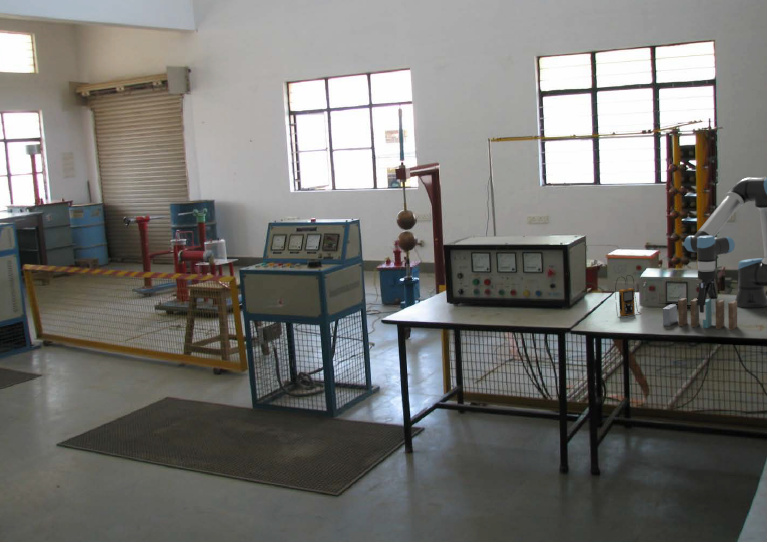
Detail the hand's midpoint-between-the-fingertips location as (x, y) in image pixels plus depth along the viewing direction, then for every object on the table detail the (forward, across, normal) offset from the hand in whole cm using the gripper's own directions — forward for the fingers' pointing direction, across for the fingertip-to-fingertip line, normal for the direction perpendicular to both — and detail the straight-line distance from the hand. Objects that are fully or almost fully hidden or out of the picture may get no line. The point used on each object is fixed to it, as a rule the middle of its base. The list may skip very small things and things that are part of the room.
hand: (707, 316), depth 359 cm
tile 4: (+5, 0, -6) cm, 7 cm away
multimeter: (+5, -9, -39) cm, 40 cm away
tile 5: (+5, 0, -11) cm, 12 cm away
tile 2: (+5, 0, +6) cm, 7 cm away
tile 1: (+5, 0, +11) cm, 12 cm away
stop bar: (+5, 0, -17) cm, 18 cm away
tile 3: (+5, 0, 0) cm, 5 cm away
